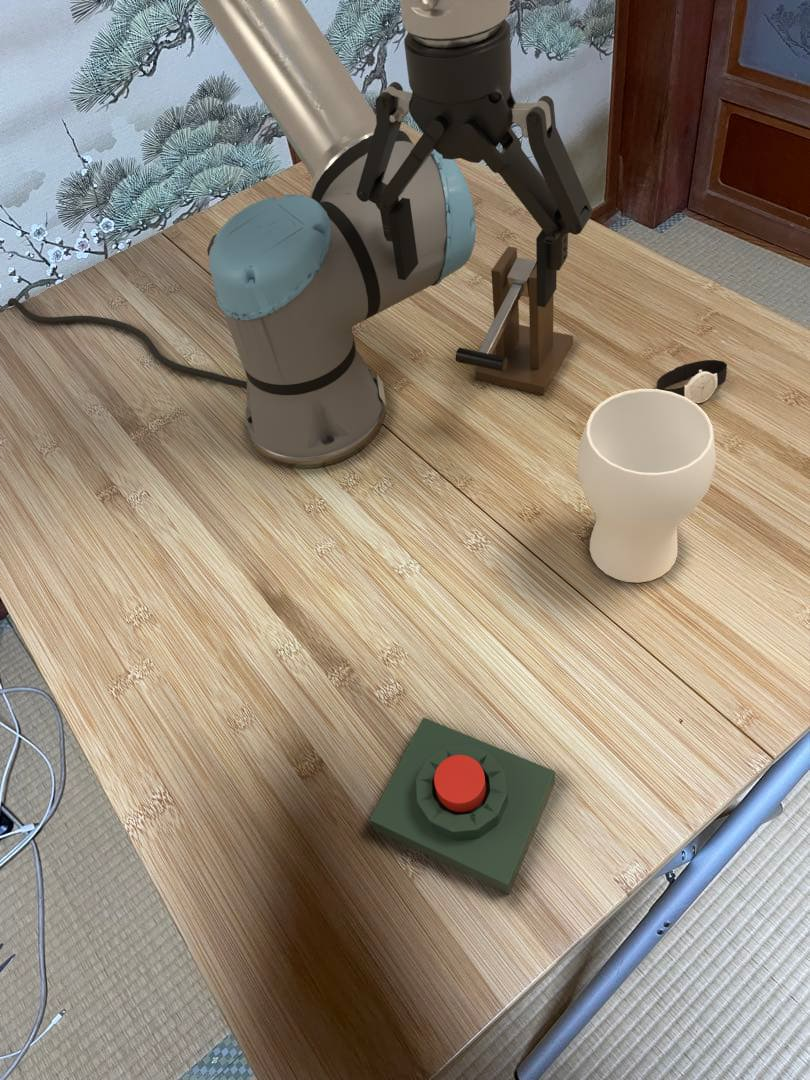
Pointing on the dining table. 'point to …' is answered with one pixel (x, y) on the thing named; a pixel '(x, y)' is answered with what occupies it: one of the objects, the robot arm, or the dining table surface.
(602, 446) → the cup
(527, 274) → the lever
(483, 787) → the button
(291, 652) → the dining table surface
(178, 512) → the dining table surface
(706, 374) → the watch
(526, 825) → the button box
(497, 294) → the bracket
